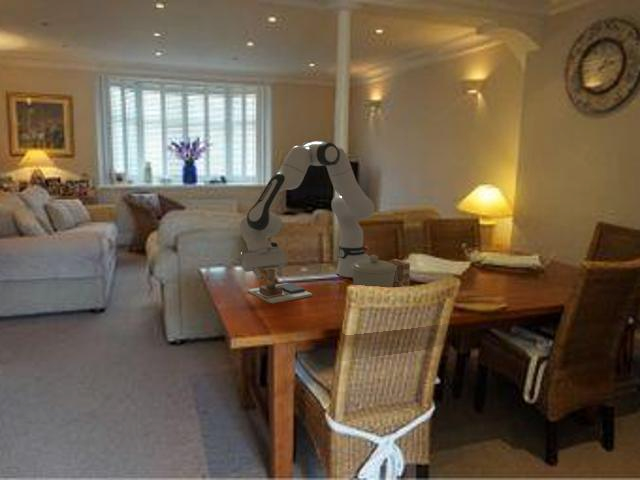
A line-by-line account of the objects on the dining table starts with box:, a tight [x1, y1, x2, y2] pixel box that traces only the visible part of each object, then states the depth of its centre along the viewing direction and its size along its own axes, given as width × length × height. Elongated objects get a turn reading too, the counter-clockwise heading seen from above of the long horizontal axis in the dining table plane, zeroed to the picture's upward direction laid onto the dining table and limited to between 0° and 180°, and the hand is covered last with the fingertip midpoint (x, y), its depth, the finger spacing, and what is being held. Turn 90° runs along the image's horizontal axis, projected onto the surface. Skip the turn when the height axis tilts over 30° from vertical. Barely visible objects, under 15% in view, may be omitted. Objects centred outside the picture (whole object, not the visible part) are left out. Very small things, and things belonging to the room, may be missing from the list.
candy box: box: [389, 258, 411, 287], centre depth 224 cm, size 9×4×15 cm, turn 33°
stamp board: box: [247, 282, 313, 304], centre depth 226 cm, size 20×20×2 cm
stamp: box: [258, 268, 282, 296], centre depth 222 cm, size 7×7×10 cm
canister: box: [351, 254, 397, 287], centre depth 209 cm, size 18×18×21 cm
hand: (271, 276), depth 222 cm, fingers open, 8 cm apart
